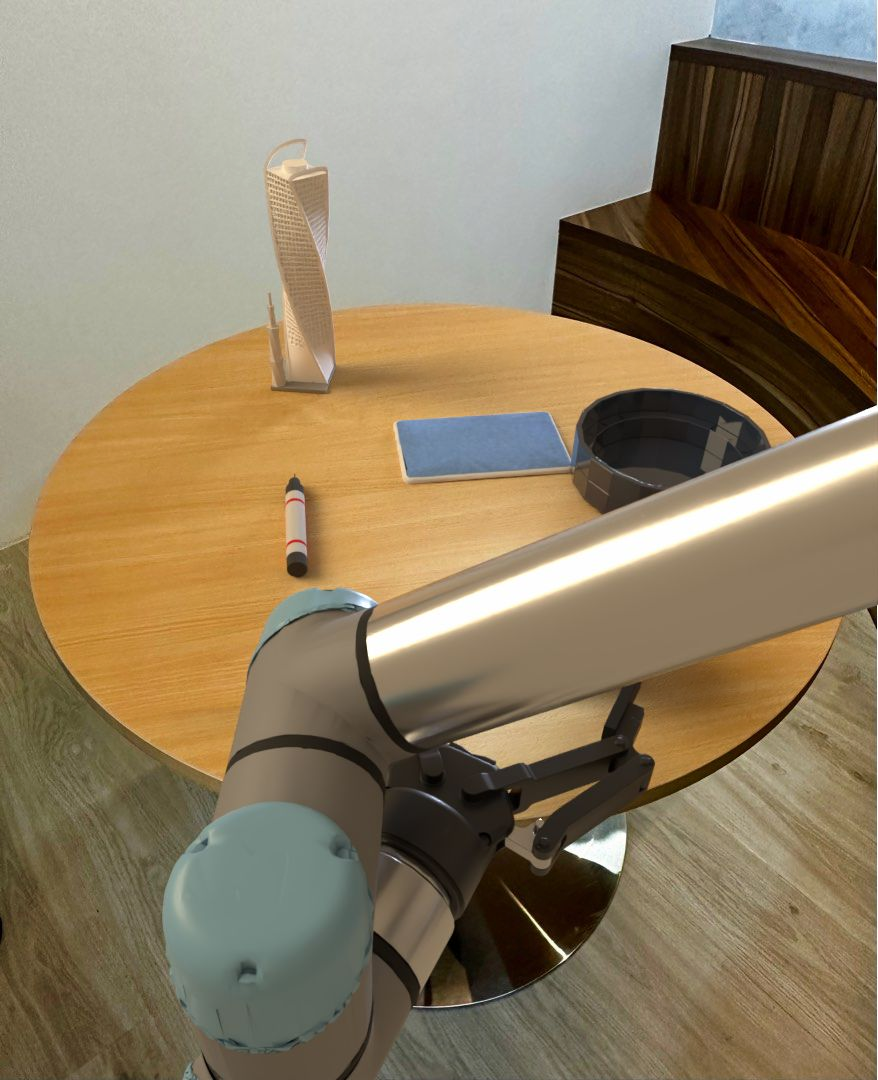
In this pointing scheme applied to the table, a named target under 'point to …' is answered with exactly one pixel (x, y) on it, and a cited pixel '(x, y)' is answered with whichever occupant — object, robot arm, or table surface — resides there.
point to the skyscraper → (300, 274)
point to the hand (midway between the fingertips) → (546, 637)
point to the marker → (295, 529)
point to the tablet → (479, 447)
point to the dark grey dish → (655, 443)
